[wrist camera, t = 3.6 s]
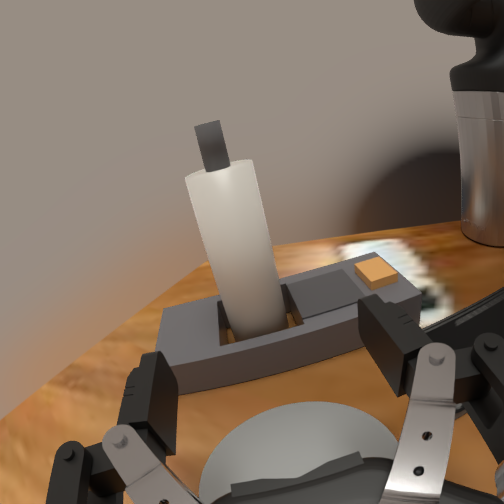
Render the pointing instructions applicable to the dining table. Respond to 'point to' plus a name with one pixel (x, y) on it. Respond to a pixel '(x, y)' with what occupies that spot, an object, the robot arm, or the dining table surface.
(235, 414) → the dining table surface
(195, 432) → the dining table surface
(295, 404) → the pad
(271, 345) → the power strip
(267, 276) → the white and grey cylinder
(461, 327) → the phone
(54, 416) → the dining table surface
